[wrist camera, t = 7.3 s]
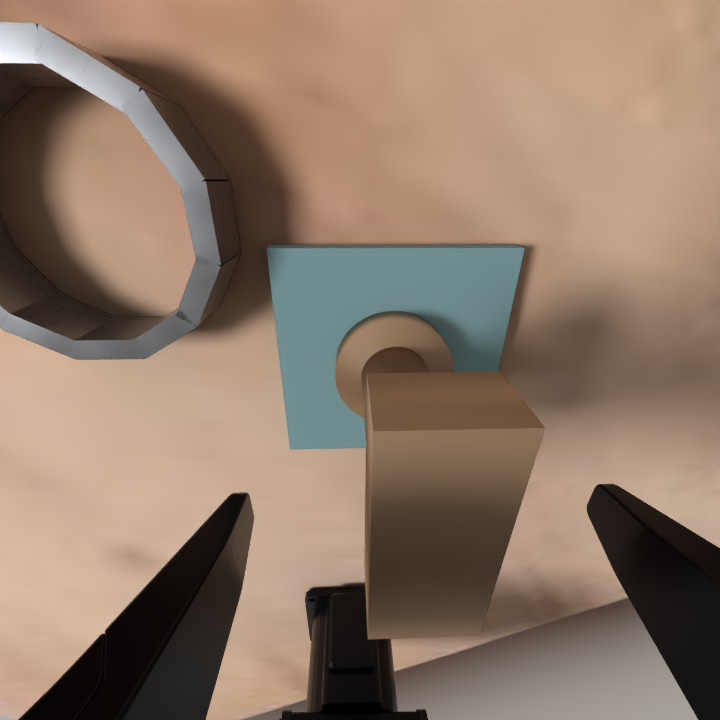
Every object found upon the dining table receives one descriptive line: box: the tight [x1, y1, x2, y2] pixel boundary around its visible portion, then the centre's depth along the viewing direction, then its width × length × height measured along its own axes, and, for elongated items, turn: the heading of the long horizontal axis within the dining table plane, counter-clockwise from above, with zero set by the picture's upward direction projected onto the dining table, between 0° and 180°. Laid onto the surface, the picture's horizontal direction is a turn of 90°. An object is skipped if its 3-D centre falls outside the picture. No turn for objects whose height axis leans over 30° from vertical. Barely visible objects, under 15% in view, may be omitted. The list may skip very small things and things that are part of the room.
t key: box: [335, 311, 545, 639], centre depth 12 cm, size 7×5×9 cm
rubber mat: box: [266, 244, 525, 449], centre depth 16 cm, size 10×10×1 cm
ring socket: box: [0, 22, 241, 360], centre depth 12 cm, size 10×10×2 cm
